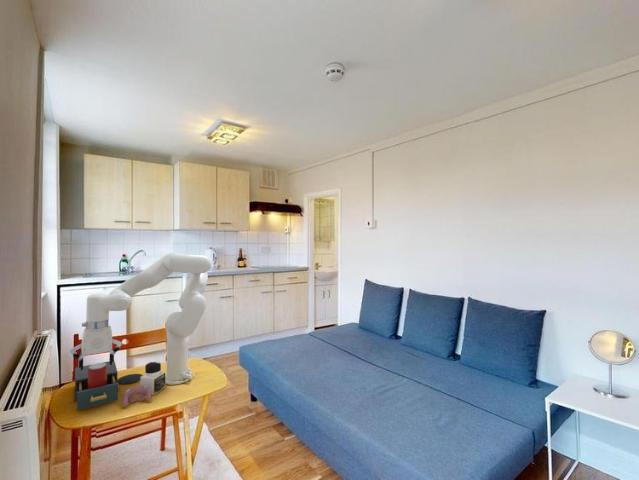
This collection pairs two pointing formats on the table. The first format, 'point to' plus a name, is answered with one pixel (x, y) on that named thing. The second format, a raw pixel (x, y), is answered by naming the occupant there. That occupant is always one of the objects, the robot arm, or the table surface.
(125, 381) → the coaster
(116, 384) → the drawer
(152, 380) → the medicine bottle
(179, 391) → the table surface
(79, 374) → the cabinet
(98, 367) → the can
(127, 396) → the video game controller
